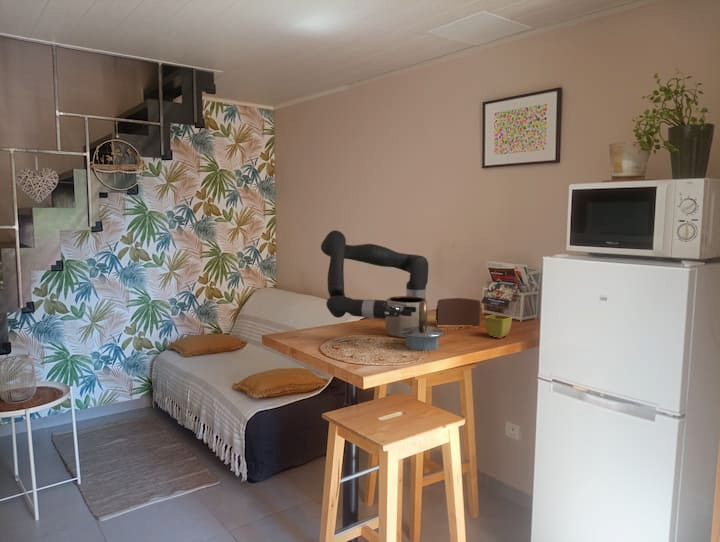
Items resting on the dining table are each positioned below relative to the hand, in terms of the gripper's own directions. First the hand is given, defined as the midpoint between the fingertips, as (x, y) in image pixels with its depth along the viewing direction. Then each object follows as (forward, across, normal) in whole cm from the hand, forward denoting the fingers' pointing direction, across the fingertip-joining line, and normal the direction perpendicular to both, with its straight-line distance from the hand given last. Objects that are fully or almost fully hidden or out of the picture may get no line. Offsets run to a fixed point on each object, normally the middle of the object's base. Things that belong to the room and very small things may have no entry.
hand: (413, 311), depth 218 cm
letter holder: (+12, +46, +14) cm, 49 cm away
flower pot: (+32, +27, +14) cm, 44 cm away
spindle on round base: (+4, 0, +8) cm, 9 cm away
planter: (-7, +19, +14) cm, 25 cm away
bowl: (+4, 0, +14) cm, 14 cm away
